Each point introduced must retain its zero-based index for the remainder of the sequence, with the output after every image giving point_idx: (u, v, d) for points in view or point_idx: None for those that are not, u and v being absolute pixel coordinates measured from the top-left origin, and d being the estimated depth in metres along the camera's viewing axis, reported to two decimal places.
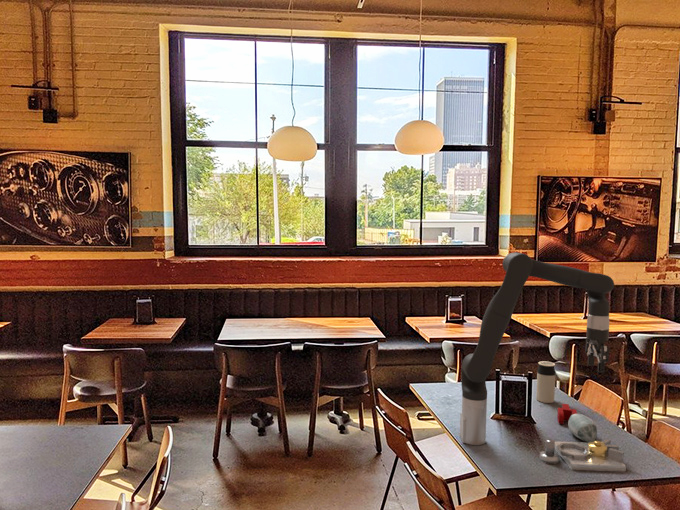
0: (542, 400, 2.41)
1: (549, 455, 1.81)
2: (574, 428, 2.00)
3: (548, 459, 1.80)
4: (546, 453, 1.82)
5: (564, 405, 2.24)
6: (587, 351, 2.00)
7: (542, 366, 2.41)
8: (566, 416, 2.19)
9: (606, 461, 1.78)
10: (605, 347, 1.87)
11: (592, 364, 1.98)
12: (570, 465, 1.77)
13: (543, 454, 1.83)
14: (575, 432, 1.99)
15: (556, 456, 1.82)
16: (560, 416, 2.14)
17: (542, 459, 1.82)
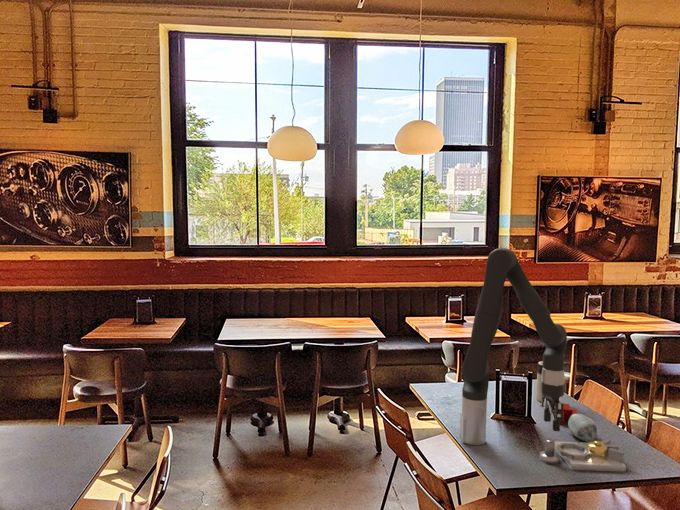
0: None
1: (549, 455, 1.81)
2: (574, 428, 2.00)
3: (548, 459, 1.80)
4: (546, 453, 1.82)
5: (565, 405, 2.24)
6: (543, 405, 1.88)
7: (542, 366, 2.41)
8: (567, 416, 2.19)
9: (606, 461, 1.78)
10: (559, 405, 1.75)
11: (548, 419, 1.86)
12: (570, 465, 1.77)
13: (543, 454, 1.83)
14: (575, 432, 1.99)
15: (556, 456, 1.82)
16: None
17: (542, 459, 1.82)
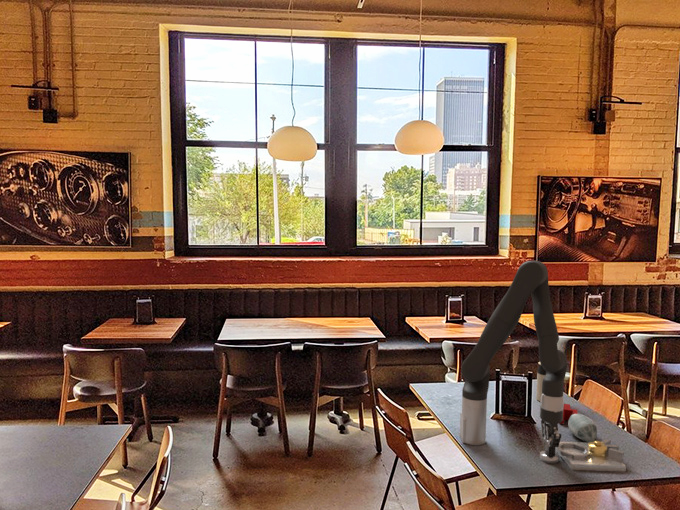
0: None
1: None
2: (574, 428, 2.00)
3: (548, 459, 1.80)
4: (546, 453, 1.82)
5: (565, 405, 2.24)
6: None
7: None
8: (567, 416, 2.19)
9: (606, 461, 1.78)
10: (557, 436, 1.76)
11: None
12: (570, 465, 1.77)
13: (543, 454, 1.83)
14: (575, 432, 1.99)
15: (556, 456, 1.82)
16: None
17: (542, 459, 1.82)
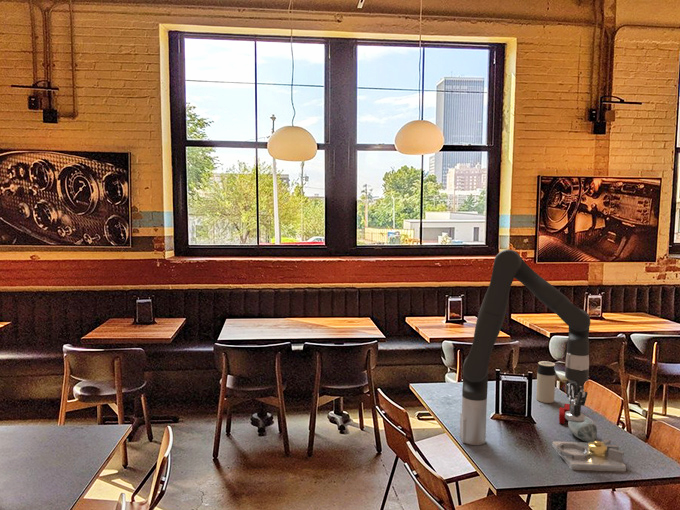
0: (542, 400, 2.41)
1: None
2: (574, 428, 2.00)
3: (574, 418, 1.81)
4: (571, 412, 1.83)
5: (566, 405, 2.24)
6: (569, 395, 1.87)
7: (542, 366, 2.41)
8: None
9: (606, 461, 1.78)
10: (583, 394, 1.76)
11: None
12: (570, 465, 1.77)
13: (569, 414, 1.83)
14: (575, 432, 1.99)
15: (581, 415, 1.82)
16: (561, 416, 2.15)
17: (567, 418, 1.82)
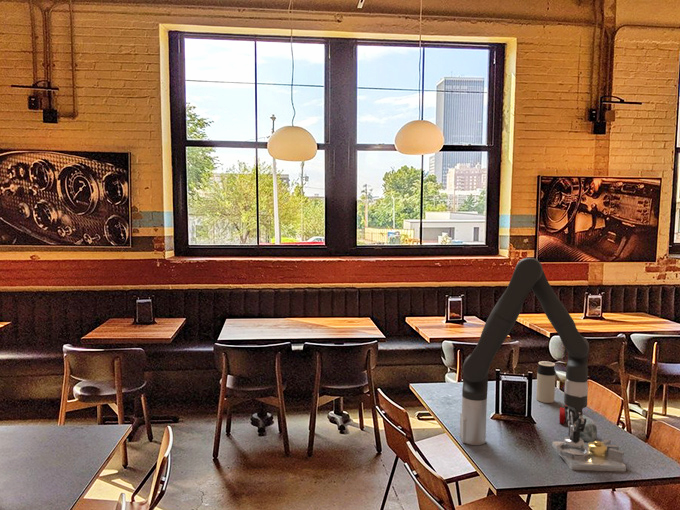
0: (542, 400, 2.41)
1: None
2: None
3: (573, 444, 1.81)
4: (571, 438, 1.84)
5: (566, 405, 2.24)
6: (568, 420, 1.87)
7: (542, 366, 2.41)
8: None
9: (606, 461, 1.78)
10: (582, 420, 1.77)
11: None
12: (570, 465, 1.77)
13: (568, 439, 1.84)
14: None
15: (581, 441, 1.83)
16: (561, 416, 2.15)
17: (567, 444, 1.83)
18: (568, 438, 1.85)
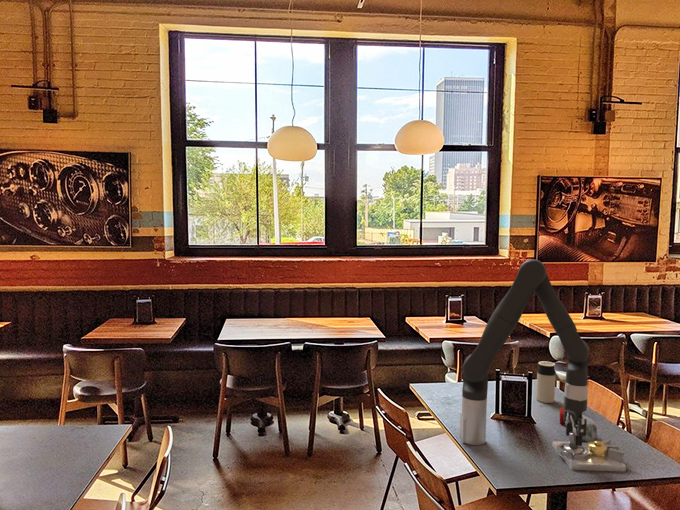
0: (542, 400, 2.41)
1: (573, 448, 1.83)
2: None
3: (572, 451, 1.82)
4: (570, 446, 1.84)
5: None
6: (565, 420, 1.89)
7: (542, 366, 2.41)
8: None
9: (606, 461, 1.78)
10: (583, 420, 1.77)
11: None
12: (570, 465, 1.77)
13: (567, 447, 1.84)
14: None
15: (580, 449, 1.83)
16: (561, 416, 2.15)
17: None
18: (567, 446, 1.86)
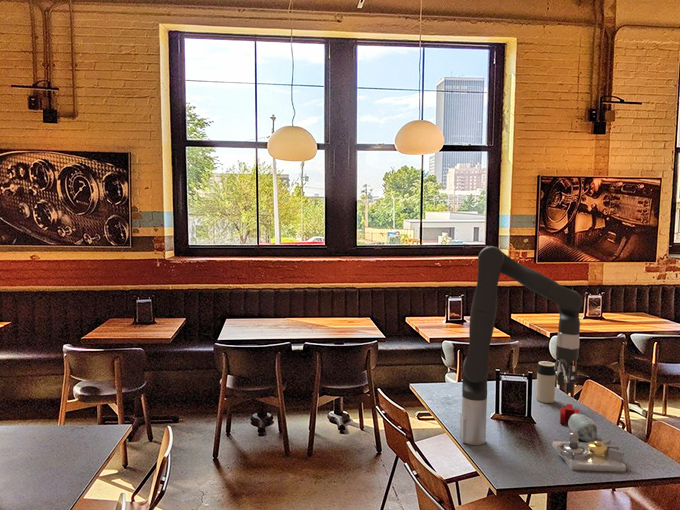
0: (542, 400, 2.41)
1: (573, 448, 1.83)
2: (574, 428, 2.00)
3: (572, 451, 1.82)
4: (570, 446, 1.84)
5: (568, 405, 2.24)
6: (557, 370, 1.93)
7: (542, 366, 2.41)
8: (568, 416, 2.19)
9: (606, 461, 1.78)
10: (573, 367, 1.80)
11: (562, 383, 1.91)
12: (570, 465, 1.77)
13: (567, 447, 1.84)
14: None
15: (580, 449, 1.83)
16: (561, 416, 2.15)
17: None
18: (567, 446, 1.86)
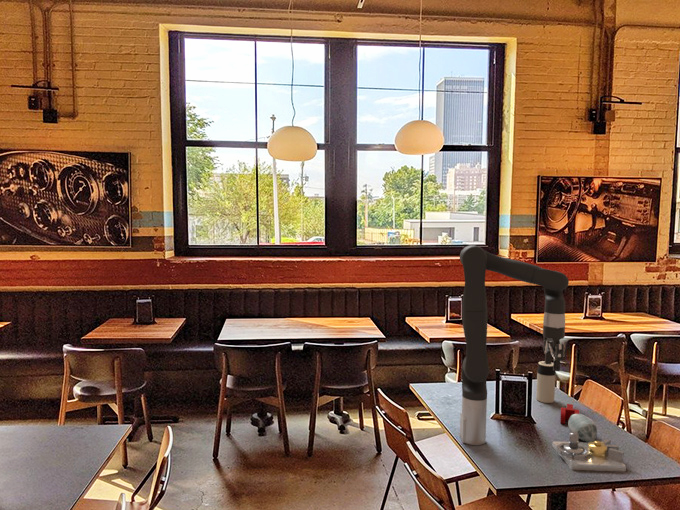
0: (542, 400, 2.41)
1: (573, 448, 1.83)
2: (574, 428, 2.00)
3: (572, 451, 1.82)
4: (570, 446, 1.84)
5: (568, 405, 2.24)
6: (545, 349, 1.98)
7: (542, 366, 2.41)
8: (569, 416, 2.19)
9: (606, 461, 1.78)
10: (560, 345, 1.85)
11: (549, 362, 1.97)
12: (570, 465, 1.77)
13: (567, 447, 1.84)
14: None
15: (580, 449, 1.83)
16: (561, 416, 2.15)
17: None
18: (567, 446, 1.86)
